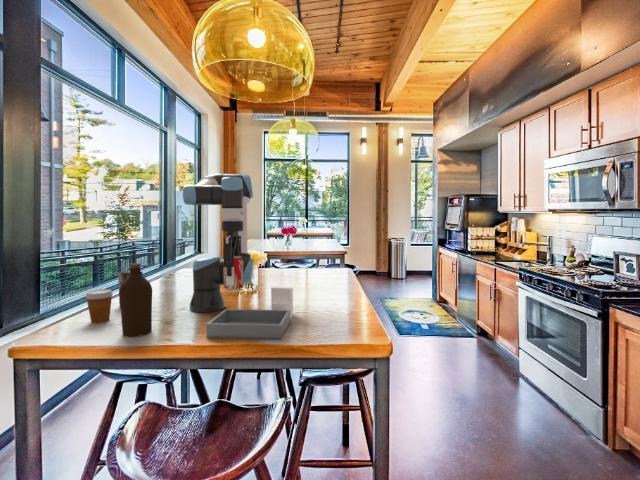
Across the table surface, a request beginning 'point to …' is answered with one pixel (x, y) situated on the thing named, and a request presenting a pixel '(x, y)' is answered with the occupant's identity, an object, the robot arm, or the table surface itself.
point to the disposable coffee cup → (99, 305)
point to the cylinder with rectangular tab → (282, 299)
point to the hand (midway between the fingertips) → (233, 283)
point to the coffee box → (123, 278)
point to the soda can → (235, 274)
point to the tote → (249, 324)
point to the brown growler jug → (136, 304)
